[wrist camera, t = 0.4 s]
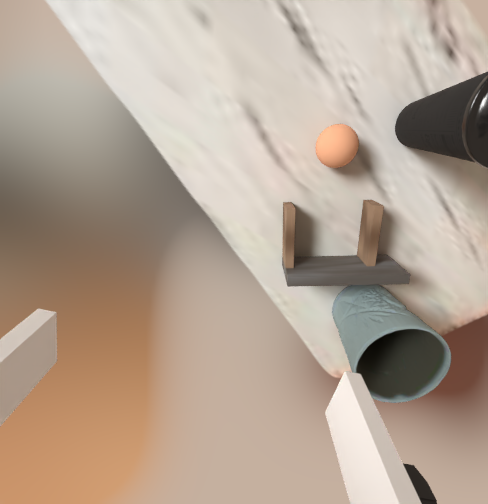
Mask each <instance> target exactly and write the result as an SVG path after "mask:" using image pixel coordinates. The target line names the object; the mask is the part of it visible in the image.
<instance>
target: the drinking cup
mask: <svg viewBox="0 0 488 504" xmlns="http://www.w3.org/2000/svg"><path fill="white" fill-rule="evenodd" d="M395 132H396V136H397V138H398V140H399V141H400V142H401V143H402V144H403V145H405V146H408V147H413V148H417V149H421V150H425V151H430V152H434V153H438V154H442V155H447V156H451V157H455V158H459V159H464V160H468V161H472V162H476V163H477V164H479V165H480V166H482V167H484V168H487V169H488V72H486V73H483V74H481V75H478V76H476V77H474V78H471V79H469V80H466V81H464V82H461V83H459V84H457V85H454V86H452V87H449V88H447V89H444V90H442V91H440V92H437V93H435V94H432V95H430V96H427V97H425V98H423V99H420V100H418V101H415V102H413V103H411V104H409V105H408V106H406V107H405V108H404V109H403V110H402V112H401V113H400V114H399V116H398V118H397V121H396V126H395Z"/></svg>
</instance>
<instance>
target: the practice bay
mask: <svg viewBox="0 0 488 504" xmlns="http://www.w3.org/2000/svg"><path fill="white" fill-rule="evenodd" d="M383 209H384V206H383V205H381V204H379V203H377V202H375V201H373V200H364V201H363V209H362V218H361V226H360V235H359V243H358V251H357V256H319V257H294V239H295V207H294V206H293V204H292V203H291V202H285V203H283V258H282V266H283V270H284V274H285V278H286V282H287V285H288V286H331V285H378V284H409V280H410V274H409V273H408V272H407V271H406V270H405V269H403V268H402V267H401V266H400V265H399V264H397V263H396V262H395V261H394V260H393V259H391V258H390V257H389V256H388V255H377V250H378V243H379V236H380V229H381V223H382V216H383Z"/></svg>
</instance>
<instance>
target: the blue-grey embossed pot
mask: <svg viewBox="0 0 488 504" xmlns="http://www.w3.org/2000/svg"><path fill="white" fill-rule="evenodd" d="M332 313H333V318H334V321H335V324H336V326H337V328H338V329H339V331H338V332H339V336H340V338H341V341H342V344H343V346H344V348H345V352H346V354H347V357H348V360H349V363H350V367H351V370H352V372H353V373H358V374H361V376H362V378H363V380H364V382H365V384H366V386H367V389H368V391H369V393H370V395H371V397H372V398H373V399H376V400H379V401H382V402H391V403H396V402H406V401H410V400H413V399H417V398H419V397H421V396H423V395H425V394H427V393H428V392H430V391H432V390H433V389H434V388H435V387H437V385H438V384H439V383H440V382H441V380H442V379H443V378H444V377H445V375H446V374H447V372H448V370H449V368H450V364H451V352H450V348H449V346H448V345H447V343H446V341H445V340H444V338H443V337H442V336H441V335H439V334H438V333H437V332H436V331H435V330H433V329H432V328H431V327H429V326H428V325H427V324H426V323H424V322H423V321H422V320H421V319H420V318H418V317H417V316H416V315H415V314H413V313H411V312H410V311H408V310H407V309H406V306H404V305H403V304H402V303H401V302H399V301H398V300H397V299H396V298H395V297H393V296H392V295H391V294H390V293H389V292H388V291H387V290H386V289H385V288H383V287H382V286H380V285H350V286H348V287H347V288H345V289H344V290H342V291H341V292H340V293H339V295H338V296H337V297H336V299H335V301H334V303H333V308H332Z"/></svg>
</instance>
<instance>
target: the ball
mask: <svg viewBox="0 0 488 504" xmlns="http://www.w3.org/2000/svg"><path fill="white" fill-rule="evenodd" d="M358 147H359V140H358V136H357V134H356V132H355V131H354V130H353V129H352V128H351V127H349V126H347V125H344V124H335V125H332V126H330V127H328V128H326V129H325V130H324V131H323V132H322V133H321V134H320V136H319V137H318V139H317V142H316V154H317V157H318V159H319V160H320V161H321V162H322V163H323V164H324V165H326V166H328V167H332V168H339V167H342V166H345V165H347V164H348V163H349V162H351V161H352V160H353V158H354V157H355V155H356V154H357V151H358Z"/></svg>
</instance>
